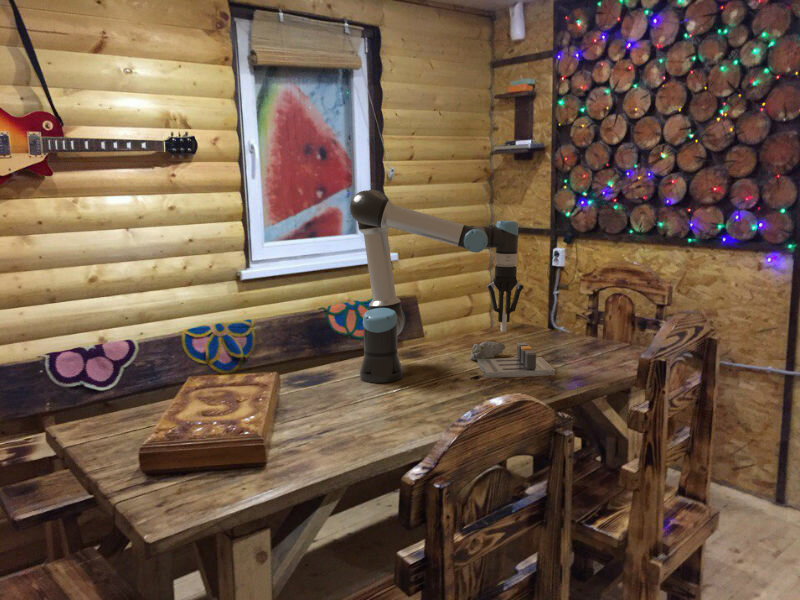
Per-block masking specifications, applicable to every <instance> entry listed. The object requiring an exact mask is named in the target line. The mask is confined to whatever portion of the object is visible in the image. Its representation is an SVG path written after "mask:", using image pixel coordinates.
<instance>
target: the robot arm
mask: <svg viewBox="0 0 800 600" xmlns="http://www.w3.org/2000/svg"><path fill="white" fill-rule="evenodd" d="M349 211H350V215H351V216H352V218H353V220H355V221H356V222H357V226H358V231H359V232H360V233H362V234H363V239H364V246H365V247H364V248H365V253H366V254H365V255H366V262H367V270H368V275H369V282H370V289H371V297H372V300H371V301H370V302H369V304H368V307H369V310H366V311H365V313H364V314H363V319H362V329H363V330H362V331H363V350H364V351H363V359H362V363H361V366H360V369H359V378H360V379H361V381H364V382H367V383H375V384H376V383H377V384H378V383H379V384H381V383H385V384H386V383H392V382H396V381H399V380H401V379H402V378H403V376H404V371H403V369H404V368H403V366H402V364H401V363H402V362H401V360H400V357H399V355H398V336H399V335H400V334H401V333H402V332H403V329H404V328H405V324H406V315H405V313H404V311H403V309H402V301H401V299H400V298H399V297H397V295H396V294H397V293H396V287H395V280H394V271H393V265H392V255H391V249H390V243H389V242H390V241H389V235H388V231H389V229H390V228H391V229H395V230H399V231H403V232H407V233H409V234H412V235H417V236H418V237H419V236H420V237H424V238H426V239H430V240H433V241H437V242H441V243H445V244H448V245H452V246H455V247H459V248H461V249H465V250H467V251H468V252H471V253H480V252H482V251H484V250H485V249H490V248H491V249H495V261H494V263H495V264H496V265H495V266H494V278H493V280H492V282H491V283H487V285H486V288H487V289H488V290H489V295H490V300H491V304H492V305H491V306H492V309H493V311H494V312H496V313H498V314H497V315H498V316H497V321H498V322H499V323H500V331H501V332H502V333H506V332H507V326H508V325H507V324H508V323H509V322H510V317H511V316H510V315H511V313H512V312H516V309H517V306H518V302H519V298H520V296H521V292H522V290H523V289H524V287H525V286H524V285H523V284H520V283H519V282H518V278H517V273H518V271H517V269H518V268H517V266H516V265H518V248H519V247H518V244H519V223H518V222H517V221H516V220H515V221H514V220H498V221H496V225H494V226H488V225H487V226H485V225H484V226H483V225H465V224H464V223H463V224H462V223H459V222H455V221H453V220H448V219H445V218H441V217H438V216H434V215H430V214H428V213H423V212H420V211H417V210H413V209H410V208H406V207H403V206H399V205H396V204H393V203H392V200H390V199H389V198H388V196H387V194H385V193H384V192H382V191H381V190H378V189H369V190H368V189H367V190H361V191H358V192H357V193H356V194H355V195H354V196H353V197H352V198H351V201H350V204H349ZM495 288H496V289H497V291H498V304H497V298H496V294H495ZM514 289H515V290H514ZM513 290H514V295H513V299H512V291H513ZM504 296H505V308H504ZM511 300H512V302H511ZM504 309H505V310H504ZM504 311H505V312H504Z"/></svg>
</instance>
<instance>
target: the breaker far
mask: <svg viewBox="0 0 800 600" xmlns="http://www.w3.org/2000/svg"><path fill="white" fill-rule="evenodd" d="M516 345H517V346H516V358H517V359H518V360H519V361H521V346H529V345H528V343H527V342H517V343H516Z"/></svg>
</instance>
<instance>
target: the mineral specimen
mask: <svg viewBox="0 0 800 600" xmlns="http://www.w3.org/2000/svg"><path fill="white" fill-rule="evenodd" d="M504 350H506V346H505V344H504V343H503V342H495V341H487V340H485V341H483V342H481V343H480V344H477V343H475V344H473V346H472V350H471V352H470V356H469V359H470V360H472V361H475V362H478V359H495V358H496V357H497V356H499V355H500V354H503V352H504Z"/></svg>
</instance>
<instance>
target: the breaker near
mask: <svg viewBox="0 0 800 600" xmlns="http://www.w3.org/2000/svg"><path fill="white" fill-rule="evenodd" d="M536 357H537V352H536V351H535V350H534V349H532V350H525V367H526V368H527V369H536Z"/></svg>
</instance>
